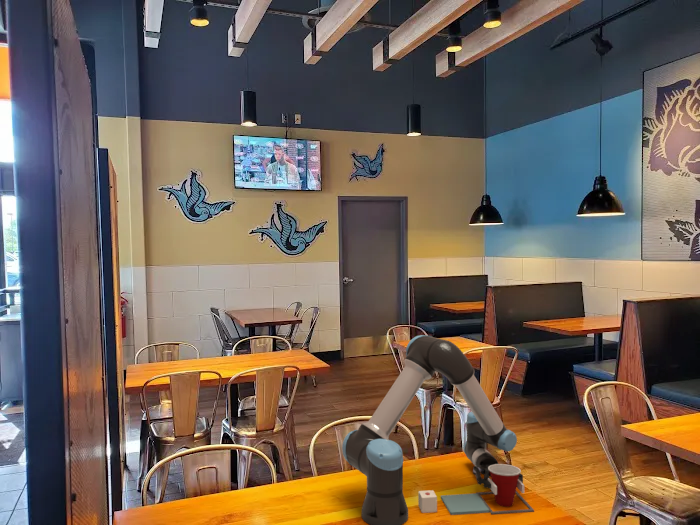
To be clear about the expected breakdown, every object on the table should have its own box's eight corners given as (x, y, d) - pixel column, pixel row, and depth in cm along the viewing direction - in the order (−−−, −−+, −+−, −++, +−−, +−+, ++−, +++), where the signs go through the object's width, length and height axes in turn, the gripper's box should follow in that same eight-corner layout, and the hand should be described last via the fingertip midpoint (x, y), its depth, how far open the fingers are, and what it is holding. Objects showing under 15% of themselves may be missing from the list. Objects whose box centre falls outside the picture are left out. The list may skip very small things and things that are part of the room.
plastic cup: (517, 495, 191) (517, 462, 190) (523, 511, 180) (524, 475, 180) (485, 494, 192) (485, 461, 192) (490, 509, 181) (490, 474, 181)
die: (422, 512, 179) (422, 497, 179) (418, 505, 184) (418, 490, 184) (436, 511, 180) (436, 496, 180) (432, 504, 185) (432, 489, 185)
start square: (491, 514, 178) (491, 512, 178) (476, 493, 193) (476, 492, 192) (534, 511, 180) (534, 510, 180) (515, 491, 194) (515, 490, 194)
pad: (450, 514, 178) (450, 512, 178) (440, 497, 190) (440, 495, 190) (489, 512, 179) (489, 510, 179) (476, 495, 191) (476, 493, 191)
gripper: (512, 470, 205) (540, 499, 183) (457, 474, 203) (478, 502, 180) (512, 451, 205) (540, 477, 182) (457, 454, 202) (478, 480, 180)
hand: (509, 489), depth 181 cm, fingers closed on plastic cup, 9 cm apart
